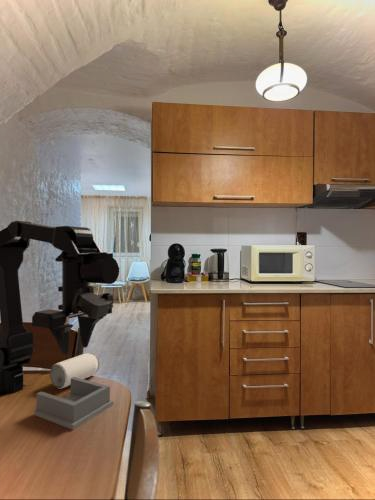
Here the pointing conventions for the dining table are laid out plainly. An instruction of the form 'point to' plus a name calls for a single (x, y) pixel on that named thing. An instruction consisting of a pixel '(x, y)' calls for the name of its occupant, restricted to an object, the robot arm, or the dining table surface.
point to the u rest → (74, 403)
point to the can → (73, 369)
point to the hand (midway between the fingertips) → (75, 350)
